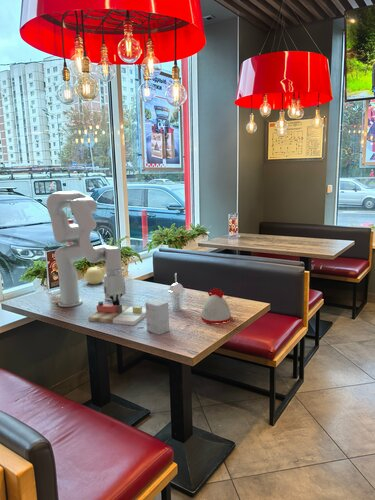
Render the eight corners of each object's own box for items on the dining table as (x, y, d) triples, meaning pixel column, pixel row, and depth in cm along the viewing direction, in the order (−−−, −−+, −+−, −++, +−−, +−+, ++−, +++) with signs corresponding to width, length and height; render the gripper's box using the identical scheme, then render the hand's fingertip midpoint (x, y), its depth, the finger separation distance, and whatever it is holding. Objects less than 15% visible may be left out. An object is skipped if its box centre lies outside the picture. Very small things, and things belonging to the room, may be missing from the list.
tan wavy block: (88, 320, 183) (87, 310, 182) (108, 308, 200) (107, 298, 199) (113, 323, 179) (112, 312, 178) (130, 310, 196) (130, 300, 195)
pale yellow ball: (107, 280, 255) (106, 264, 253) (100, 285, 243) (99, 268, 241) (90, 280, 256) (89, 264, 254) (83, 285, 245) (82, 268, 243)
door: (112, 323, 179) (112, 314, 179) (130, 310, 196) (129, 301, 195) (134, 325, 176) (133, 316, 175) (150, 311, 193) (149, 303, 192)
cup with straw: (187, 307, 198) (186, 269, 194) (182, 313, 189) (181, 273, 185) (171, 306, 200) (170, 268, 196) (166, 312, 191) (164, 273, 188)
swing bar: (118, 310, 190) (117, 302, 189) (115, 312, 187) (114, 304, 186) (100, 309, 193) (99, 301, 192) (96, 311, 190) (96, 303, 189)
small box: (169, 330, 169) (168, 302, 166) (159, 335, 164) (157, 306, 162) (157, 326, 174) (155, 298, 172) (146, 330, 169) (144, 302, 167)
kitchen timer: (222, 326, 172) (221, 294, 169) (195, 321, 179) (194, 289, 176) (235, 316, 183) (235, 286, 180) (210, 311, 190) (210, 282, 188)
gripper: (123, 268, 197) (125, 302, 200) (96, 273, 188) (99, 309, 191) (131, 270, 191) (133, 306, 194) (103, 276, 182) (106, 313, 185)
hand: (116, 307), depth 193 cm, fingers closed
